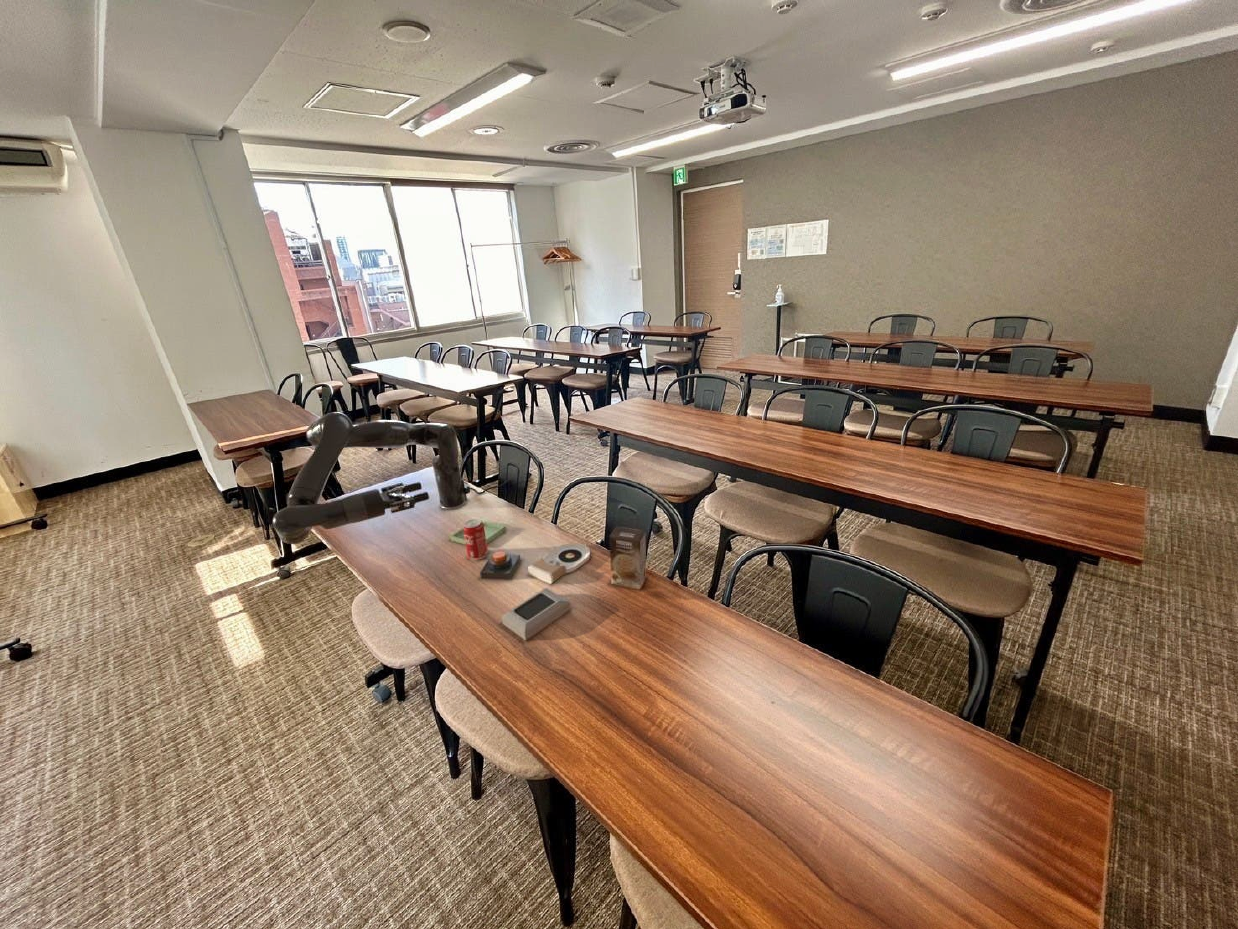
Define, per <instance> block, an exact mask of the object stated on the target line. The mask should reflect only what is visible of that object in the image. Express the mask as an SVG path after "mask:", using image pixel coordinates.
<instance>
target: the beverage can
mask: <svg viewBox="0 0 1238 929" xmlns="http://www.w3.org/2000/svg"><path fill="white" fill-rule="evenodd" d="M478 519H479V518H474V519H473V518H472V519H469V520H467V521H465V523H463V524H464V526H463V527H462V528H463V532H464V538H465V543H466V544H465V547H466V548H465V549H466V552H467V557H468V558H470V559H472V560H475V561H476V560H477V561H478V560H481V559H484V558H485V557H486V556H487V554H489V549H488V548H489V547H488V543H487V542H486V536H485V531H484V525H483V524H482V523H481V521H480V520H481V519H479V520H478Z"/></svg>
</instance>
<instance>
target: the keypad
mask: <svg viewBox="0 0 1238 929" xmlns="http://www.w3.org/2000/svg"><path fill="white" fill-rule="evenodd" d="M570 611H571V602H570V601H569V600H567V599H566V598H564V597H563V596H560V595H559V594H558V593H555V592H554V591H552V590H550V589H549V588H547V587H545V588H543V589H542V590H540V591H538V592H537V593H535V594H534V595H532V596H530V597H529V598H528V599H526V600H524V601H523V602H521V603H519V604H518V605H516V606H515V607H513V608H512V609H510V610H509V611H507V612H505V613H504V614H503V615H502V616H501V622H502V625H503V626H505V627H506V628H508V629H509V630H510V631H512V632H513V633H515V634H516V635H517V636H518V637H520V638H521V639H522V640H524V641H527V640H530V639H531V638H532V637H533V636H535V635H536V634H538V633H539V632H540V631H542V630H543V629H545V628H547V627H548V626H549V625H551V624H552V623H553V622H555V621H556V620H558V619H559V618H561V617H563V615H565V614H566V613H568V612H570Z"/></svg>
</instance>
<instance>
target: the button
mask: <svg viewBox="0 0 1238 929" xmlns="http://www.w3.org/2000/svg"><path fill="white" fill-rule="evenodd" d="M505 553H506V552H504V551H496V552H494V553H493V554H494V555H493V559H494V562H503V561H504V560H506V556H505Z"/></svg>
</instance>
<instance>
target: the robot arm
mask: <svg viewBox="0 0 1238 929" xmlns="http://www.w3.org/2000/svg"><path fill="white" fill-rule="evenodd" d="M305 435H306V436H305V437H306V439H307V441H308V442H309V443H310V444H311V445H312V446H314V447H315V449H314V451H313V452H312V454H311V455H310V456H309V458H308V459H307V460H306V462H305V463H304V464H303V465H302V467H301V469H300V470H299V471H298V473H297V475H296V477H295V479H294V481H293V483H292V485H291V488H290V489H289V493H288V494H287V506H286V507H284V508H282V509H280V510H279V511H277V512H276V513H275V514H274V515H273V517H272V526H273V528H274V530H275V532H276V534H277V535H278V537H279V539H280V540H281V541H282V542H283V543H286V544H288V545H296V544H300V543H301V542H303V541H304V540H306V539H307V538H308V536H310V535H311V532H312V529H313V527H322V528H323V529H325V530H332V529H335V528H339V527H343V526H346V525H347V526H348V525H350V524H351V525H352V524H357V523H360V522H364V521H367V520H371V519H375V518H378V517H382V516H385V514H386V510H389V509H390V513H391V514H395V513H399V512H403V511H407V510H411V509H414V508H415V506H416V504H417V503H420V502H425V501H428V500H429V499H430V495H429V492H428V491H423V492H419V493H415V494H414V495H413V494H412V495H408V493H413V492H416V491H420V490H422V489H423V487H422V483H421V482H420V481H417V482H412V483H409V484H406V483H403V482H399V483H394V484H391V485H387V486H384V487H381V488H380V489H377V488H375V489H371V490H366V491H362V492H359V493H354V494H351V495H348V496H345V497H343V498H339V499H335V500H331V501H327V502H324V503H319V501H320V499H321V496H322V494H323V491H324V489H325V486H326V484H327V481H328V480H329V476H330V474H331V473H332V470H333V469H334V466H335V464H336V463H337V461H338V459H339V458H340V455H341V454H342V452H343V451H344V449H347V448H377V449H378V448H381V449H400V448H405V447H408V446H410V445H414V446H415V445H417V446H423V447H424V446H425V447H429V448H434V449H437V450H438V455H435V456H434V457H433V458H432V460H431V463H432V468H433V469H432V470H433V473H434V478H435V479H434V480H435V481H436V487H437V492H438V498H439V504H440V508H441V509H443V510H447V511H449V510H456V509H460V508H462V507H463V506H465V505H466V503H467V502H468V497H467V495H468V494H470V493H471V491H473V492H475V494H477V495H482V494H484V493H486V492H487V491H489V490H492V489H497V488H498V489H499V488H501V487H503V486H505V485H506V484H507V483H508V482H510V483H512V482H513V481H512V479H506V480H505V481H504V482H503V483H501V484H500V485H496V486H490V487H487V488H485V489H484V490H482V491H483V492H482V491H480V492H479V491H477V489H475V488H473V487H470V485H465V480H464V479H463V478H462V475H461V470H460V463H459V454H460V453H459V445H458V438H457V432H456V430H455V428H454V427H453V426H452V425H451V424H447V423H438V422H430V423H409V422H407V421H401V420H392V419H390V420H389V419H388V420H387V419H379V420H371V421H366V422H362V423H356V424H353V421H352V420H351V419H350V417H348V415H346V414H344V413H342V412H339V411H334V412H333V411H332V412H329V413H326V414H325V415H322V416H320V417H319V418H318V419H316V420H314V421H313V422H312V423H310V425H308V427H307V429H306V432H305ZM380 490H381V492H380Z"/></svg>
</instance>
